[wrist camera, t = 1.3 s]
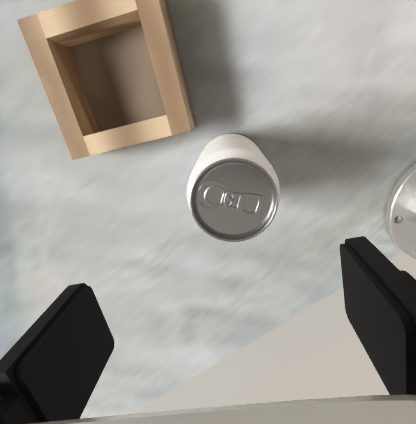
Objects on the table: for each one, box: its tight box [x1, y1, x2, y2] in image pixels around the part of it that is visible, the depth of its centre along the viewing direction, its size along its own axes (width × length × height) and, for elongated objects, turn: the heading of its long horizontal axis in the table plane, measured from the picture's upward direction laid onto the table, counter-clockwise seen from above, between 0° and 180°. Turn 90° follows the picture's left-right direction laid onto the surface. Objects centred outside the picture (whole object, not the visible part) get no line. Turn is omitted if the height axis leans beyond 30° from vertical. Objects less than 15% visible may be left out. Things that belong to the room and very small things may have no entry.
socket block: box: [17, 0, 196, 160], centre depth 25 cm, size 11×11×4 cm
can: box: [187, 134, 280, 242], centre depth 24 cm, size 6×6×12 cm
